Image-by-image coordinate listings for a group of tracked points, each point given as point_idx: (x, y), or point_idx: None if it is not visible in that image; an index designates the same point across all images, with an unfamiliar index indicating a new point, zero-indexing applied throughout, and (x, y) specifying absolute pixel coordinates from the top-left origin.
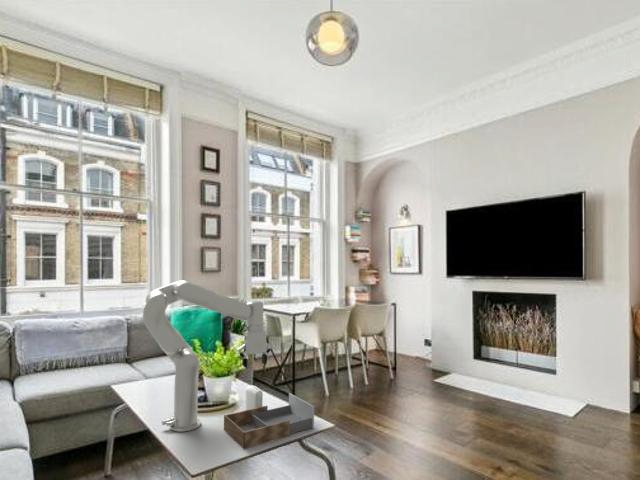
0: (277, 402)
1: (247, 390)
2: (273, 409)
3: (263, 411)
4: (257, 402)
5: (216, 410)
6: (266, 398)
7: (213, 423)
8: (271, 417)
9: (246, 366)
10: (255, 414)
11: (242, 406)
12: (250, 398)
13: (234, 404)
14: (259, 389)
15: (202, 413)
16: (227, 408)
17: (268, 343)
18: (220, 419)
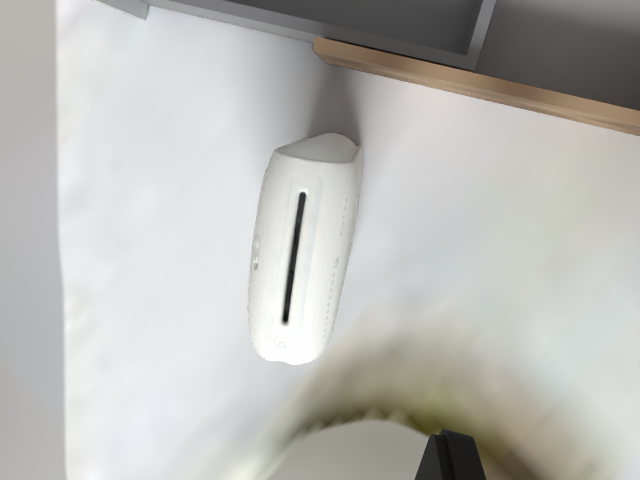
0: (85, 246)
1: (333, 321)
2: (275, 12)
3: (367, 37)
4: (343, 148)
5: None
6: (100, 352)
7: (619, 284)
8: (313, 13)
9: (459, 441)
10: (443, 52)
11: None
12: (350, 241)
13: (312, 424)
14: (286, 182)
15: (547, 459)
16: (386, 408)
17: None
18: (541, 302)
